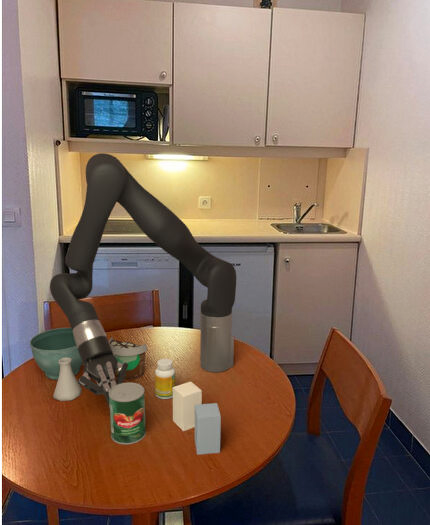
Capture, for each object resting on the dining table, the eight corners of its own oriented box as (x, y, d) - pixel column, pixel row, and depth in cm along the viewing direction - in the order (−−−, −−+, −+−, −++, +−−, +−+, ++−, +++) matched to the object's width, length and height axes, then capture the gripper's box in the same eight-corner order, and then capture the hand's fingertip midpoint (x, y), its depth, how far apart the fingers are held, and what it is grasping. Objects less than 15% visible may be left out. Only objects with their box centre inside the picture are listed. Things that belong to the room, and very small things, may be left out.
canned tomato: (133, 419, 108) (131, 378, 106) (152, 434, 103) (151, 391, 100) (104, 433, 103) (101, 390, 100) (123, 449, 97) (121, 405, 95)
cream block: (190, 414, 111) (190, 381, 109) (201, 424, 107) (201, 390, 105) (173, 420, 108) (172, 387, 106) (183, 431, 104) (183, 396, 102)
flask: (73, 403, 115) (70, 368, 112) (47, 400, 116) (44, 364, 114) (86, 389, 122) (84, 355, 119) (62, 386, 123) (59, 352, 121)
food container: (99, 376, 128) (98, 344, 126) (112, 367, 134) (110, 336, 131) (136, 385, 124) (135, 352, 121) (148, 375, 129) (147, 343, 127)
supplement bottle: (156, 389, 122) (155, 357, 120) (176, 389, 122) (175, 357, 120) (154, 400, 117) (153, 366, 114) (175, 399, 117) (174, 366, 115)
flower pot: (26, 368, 132) (23, 334, 129) (80, 355, 141) (78, 323, 139) (42, 392, 119) (38, 355, 117) (99, 375, 129) (97, 341, 126)
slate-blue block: (216, 438, 102) (217, 403, 99) (220, 452, 97) (220, 416, 95) (194, 440, 101) (194, 404, 99) (197, 454, 96) (197, 417, 94)
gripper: (112, 341, 119) (136, 403, 112) (62, 355, 111) (85, 422, 104) (120, 329, 113) (146, 393, 107) (69, 342, 105) (93, 412, 99)
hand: (116, 407), depth 106 cm, fingers closed
